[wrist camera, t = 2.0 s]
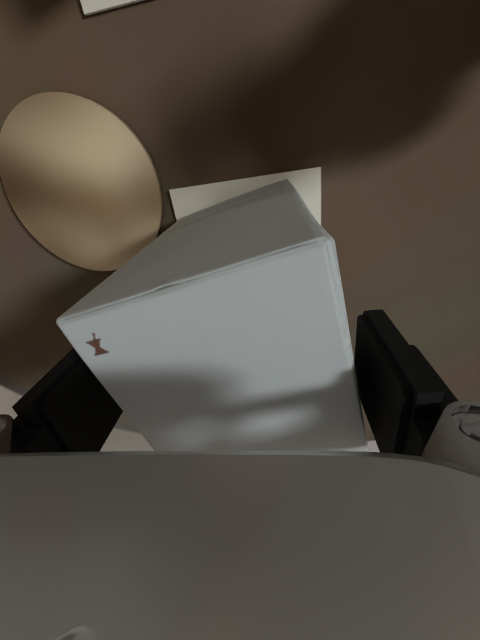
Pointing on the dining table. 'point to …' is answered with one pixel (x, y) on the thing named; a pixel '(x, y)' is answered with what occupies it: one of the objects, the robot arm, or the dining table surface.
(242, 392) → the supplement box
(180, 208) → the code tile
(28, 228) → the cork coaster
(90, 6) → the code tile
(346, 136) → the dining table surface
